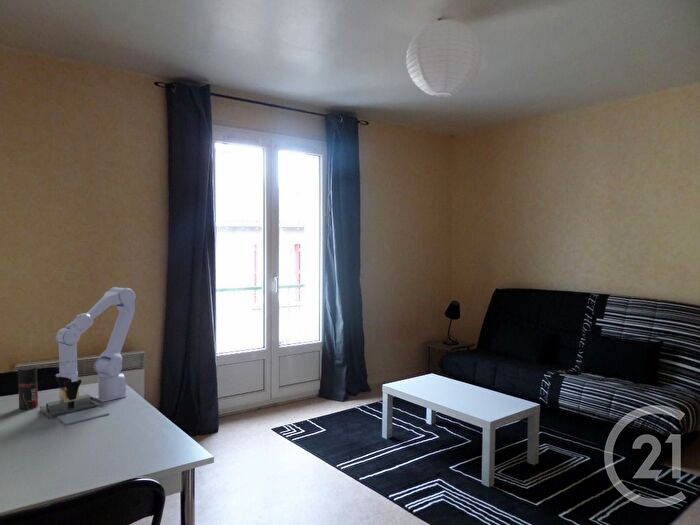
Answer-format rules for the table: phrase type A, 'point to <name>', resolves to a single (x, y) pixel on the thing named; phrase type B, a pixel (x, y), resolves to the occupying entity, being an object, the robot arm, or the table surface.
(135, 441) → the table surface
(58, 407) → the vise
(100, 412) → the mat
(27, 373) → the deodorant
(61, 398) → the collar
